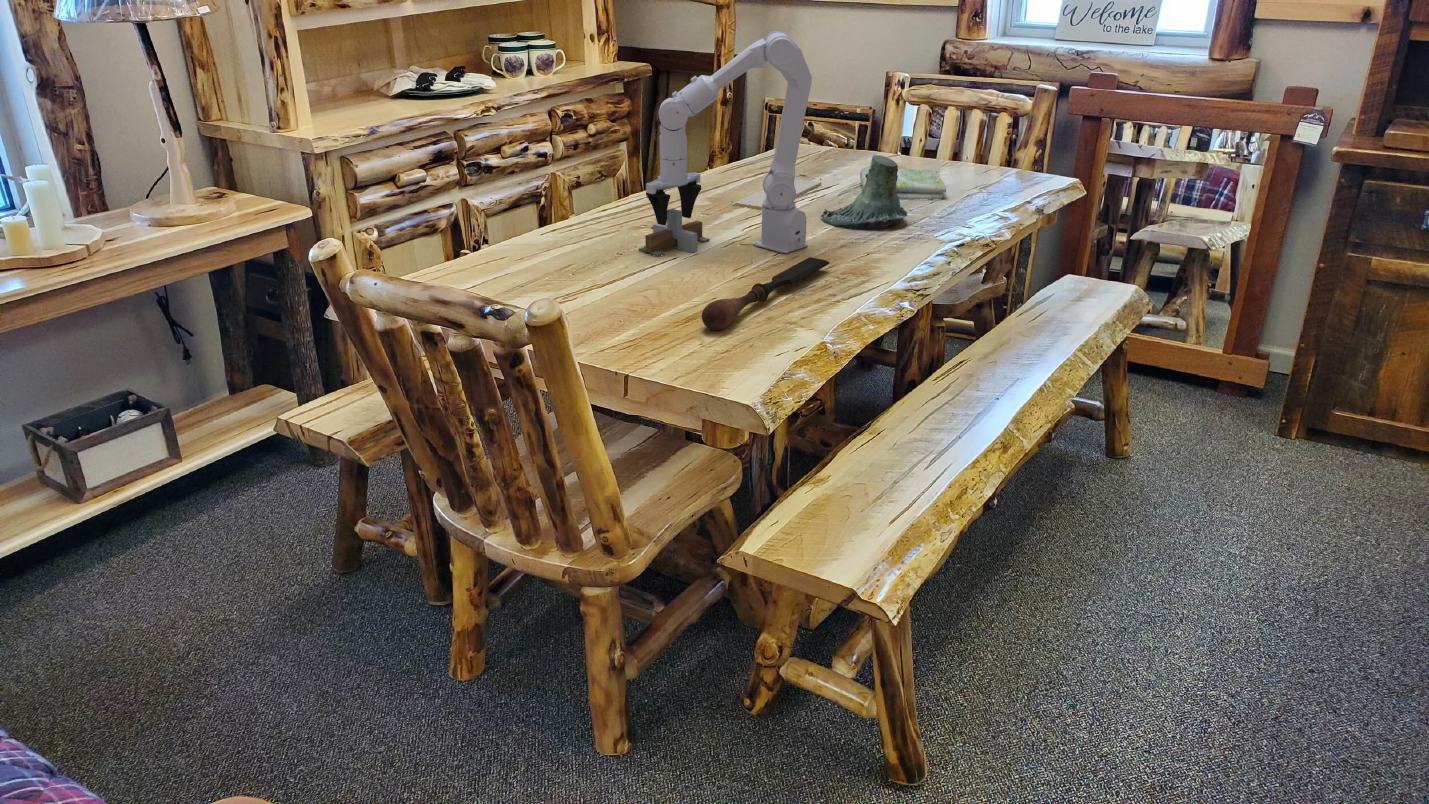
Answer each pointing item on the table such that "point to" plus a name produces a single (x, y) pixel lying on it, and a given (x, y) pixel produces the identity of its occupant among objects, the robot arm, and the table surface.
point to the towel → (915, 184)
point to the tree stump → (871, 200)
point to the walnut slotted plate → (669, 239)
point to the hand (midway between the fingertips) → (674, 220)
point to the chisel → (757, 294)
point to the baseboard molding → (757, 198)
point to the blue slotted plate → (678, 231)
